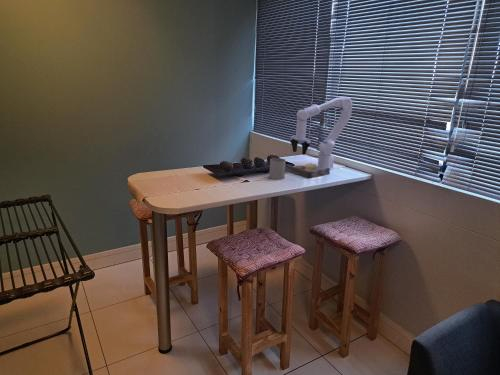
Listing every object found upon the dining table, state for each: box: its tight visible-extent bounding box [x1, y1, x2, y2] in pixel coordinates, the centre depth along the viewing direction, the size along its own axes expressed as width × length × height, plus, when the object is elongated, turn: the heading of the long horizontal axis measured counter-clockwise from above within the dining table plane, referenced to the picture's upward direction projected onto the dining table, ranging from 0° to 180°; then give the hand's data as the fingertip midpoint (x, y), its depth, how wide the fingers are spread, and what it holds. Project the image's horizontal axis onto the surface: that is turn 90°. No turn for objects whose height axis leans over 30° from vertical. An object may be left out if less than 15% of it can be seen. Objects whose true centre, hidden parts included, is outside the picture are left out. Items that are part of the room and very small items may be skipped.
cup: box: [268, 157, 286, 181], centre depth 188 cm, size 8×8×10 cm
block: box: [299, 162, 317, 171], centre depth 197 cm, size 4×9×5 cm, turn 129°
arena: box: [285, 163, 331, 179], centre depth 201 cm, size 17×23×4 cm
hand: (299, 153), depth 208 cm, fingers open, 7 cm apart
